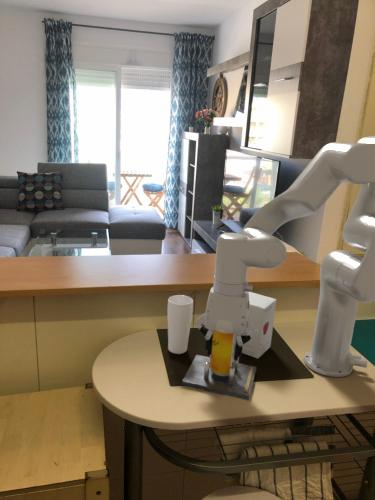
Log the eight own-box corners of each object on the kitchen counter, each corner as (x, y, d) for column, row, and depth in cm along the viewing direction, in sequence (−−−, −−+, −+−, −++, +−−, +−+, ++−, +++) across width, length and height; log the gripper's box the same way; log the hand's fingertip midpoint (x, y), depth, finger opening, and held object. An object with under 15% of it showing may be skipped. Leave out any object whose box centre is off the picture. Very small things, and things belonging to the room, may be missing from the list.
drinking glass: (193, 347, 117) (197, 298, 113) (183, 358, 111) (186, 306, 107) (172, 341, 120) (174, 292, 116) (160, 352, 114) (163, 301, 110)
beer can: (215, 361, 107) (219, 307, 103) (237, 368, 105) (243, 313, 101) (205, 372, 102) (210, 316, 98) (229, 380, 99) (234, 322, 95)
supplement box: (258, 359, 113) (264, 308, 109) (229, 349, 118) (233, 299, 114) (271, 346, 121) (277, 298, 116) (243, 337, 125) (248, 290, 121)
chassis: (256, 370, 108) (258, 352, 106) (248, 400, 96) (251, 380, 94) (196, 358, 112) (197, 341, 110) (182, 385, 100) (183, 366, 98)
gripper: (268, 286, 98) (260, 354, 103) (197, 275, 103) (193, 341, 108) (265, 298, 91) (256, 370, 97) (189, 286, 96) (185, 356, 101)
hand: (223, 354), depth 102 cm, fingers closed on beer can, 6 cm apart
